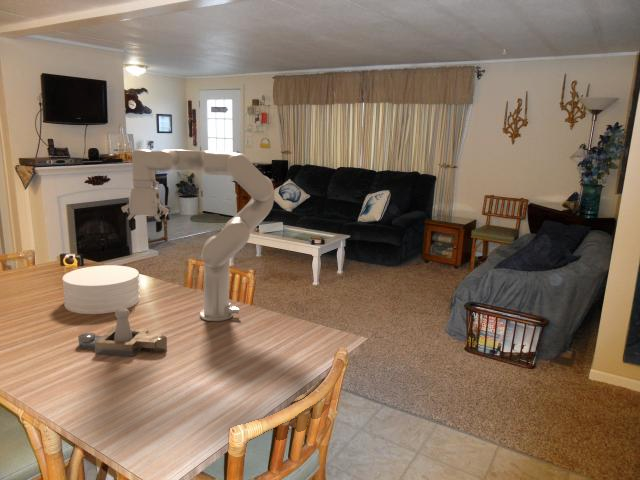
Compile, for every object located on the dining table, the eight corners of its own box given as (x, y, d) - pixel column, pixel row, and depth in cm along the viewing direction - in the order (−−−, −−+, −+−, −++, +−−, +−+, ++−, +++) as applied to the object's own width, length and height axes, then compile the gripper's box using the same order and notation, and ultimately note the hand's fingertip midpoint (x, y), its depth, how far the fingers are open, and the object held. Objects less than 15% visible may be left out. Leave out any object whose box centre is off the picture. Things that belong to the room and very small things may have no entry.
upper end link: (173, 342, 159) (173, 331, 158) (159, 358, 147) (158, 347, 147) (114, 338, 160) (113, 327, 159) (95, 354, 149) (94, 342, 148)
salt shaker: (114, 352, 150) (112, 314, 148) (113, 344, 155) (111, 307, 152) (134, 349, 153) (132, 311, 150) (132, 342, 158) (130, 305, 155)
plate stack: (154, 300, 198) (153, 274, 195) (90, 320, 174) (89, 290, 172) (113, 286, 212) (112, 261, 210) (50, 302, 189) (48, 275, 187)
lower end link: (148, 340, 160) (148, 332, 159) (132, 356, 148) (132, 348, 147) (89, 336, 161) (89, 328, 160) (69, 352, 149) (68, 343, 148)
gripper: (171, 184, 173) (172, 230, 176) (125, 181, 174) (127, 227, 177) (163, 186, 165) (165, 234, 169) (115, 183, 166) (118, 231, 170)
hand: (145, 230), depth 173 cm, fingers open, 9 cm apart
